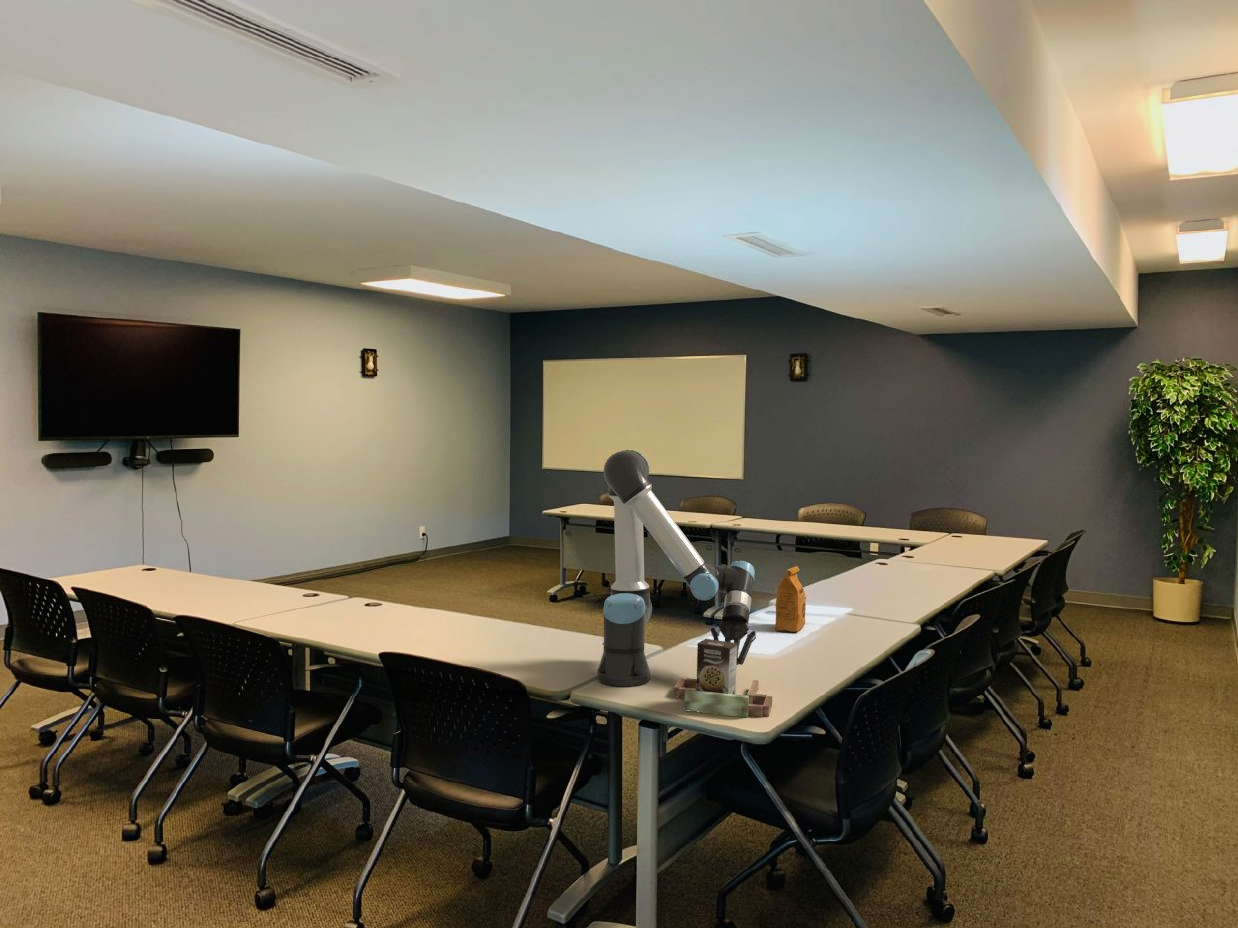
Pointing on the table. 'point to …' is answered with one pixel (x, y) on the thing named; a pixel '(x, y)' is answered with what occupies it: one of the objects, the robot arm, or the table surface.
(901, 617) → the table surface
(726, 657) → the coffee box
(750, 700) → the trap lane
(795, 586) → the coffee package
